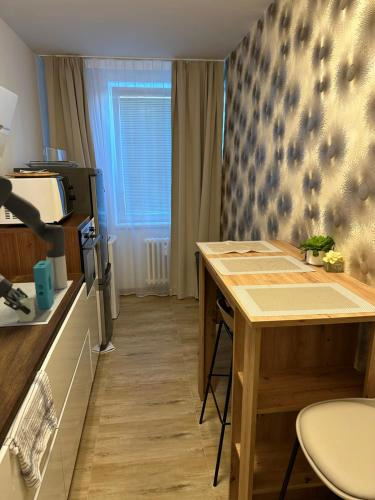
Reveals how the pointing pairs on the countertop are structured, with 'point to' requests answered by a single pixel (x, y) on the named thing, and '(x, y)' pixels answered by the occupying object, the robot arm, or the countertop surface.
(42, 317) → the marker mat
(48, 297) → the block
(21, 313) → the sage block
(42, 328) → the countertop surface
